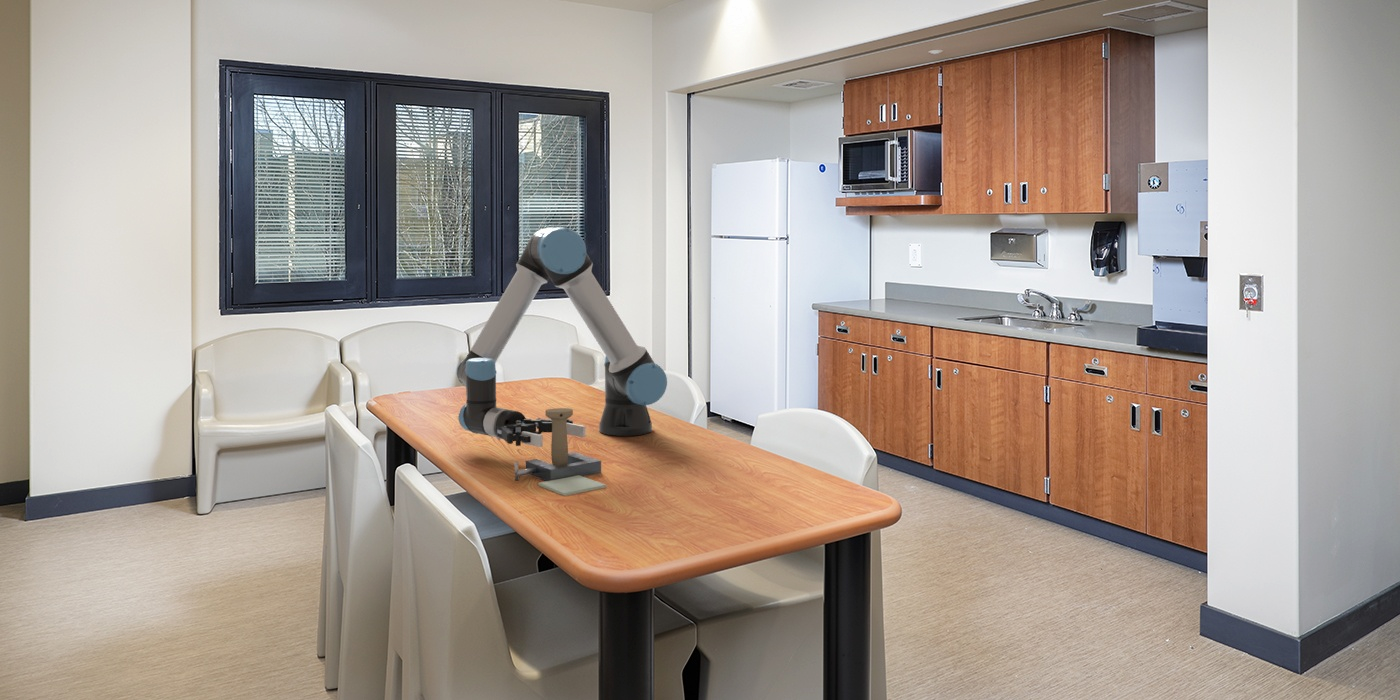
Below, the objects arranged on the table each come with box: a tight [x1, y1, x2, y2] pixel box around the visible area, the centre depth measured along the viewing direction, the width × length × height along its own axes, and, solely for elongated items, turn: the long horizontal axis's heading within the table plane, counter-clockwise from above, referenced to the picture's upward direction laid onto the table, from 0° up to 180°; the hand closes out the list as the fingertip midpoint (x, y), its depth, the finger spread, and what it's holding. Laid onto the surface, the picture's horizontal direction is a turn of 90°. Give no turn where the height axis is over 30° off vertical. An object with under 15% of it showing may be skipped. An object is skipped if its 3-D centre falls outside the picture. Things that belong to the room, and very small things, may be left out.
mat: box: [537, 475, 607, 497], centre depth 218 cm, size 11×11×1 cm
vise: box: [514, 452, 602, 482], centre depth 228 cm, size 19×11×4 cm, turn 130°
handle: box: [545, 407, 574, 466], centre depth 230 cm, size 5×6×15 cm
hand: (563, 436), depth 228 cm, fingers open, 13 cm apart
